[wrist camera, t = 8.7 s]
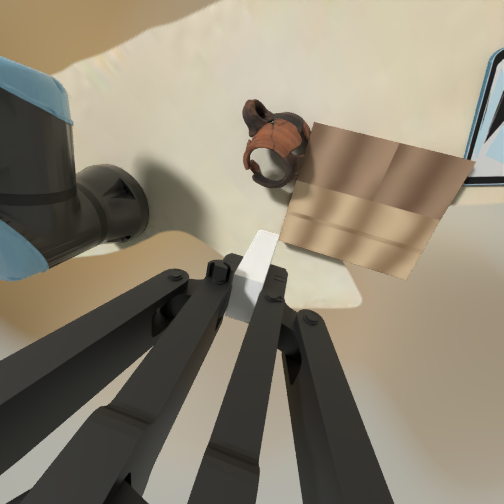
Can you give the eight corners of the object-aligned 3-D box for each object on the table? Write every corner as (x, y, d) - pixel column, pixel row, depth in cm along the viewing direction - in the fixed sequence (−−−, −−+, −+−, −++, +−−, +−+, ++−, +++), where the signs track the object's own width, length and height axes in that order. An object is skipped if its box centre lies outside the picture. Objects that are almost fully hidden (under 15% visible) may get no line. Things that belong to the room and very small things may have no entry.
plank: (279, 237, 42) (278, 240, 41) (297, 179, 38) (296, 180, 37) (402, 276, 40) (406, 280, 38) (434, 217, 36) (440, 220, 34)
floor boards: (297, 178, 38) (296, 180, 37) (314, 122, 35) (314, 122, 33) (435, 217, 36) (440, 220, 34) (469, 160, 32) (476, 161, 31)
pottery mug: (328, 145, 36) (312, 177, 32) (282, 172, 43) (264, 202, 39) (277, 69, 31) (251, 95, 27) (235, 113, 38) (209, 140, 34)
